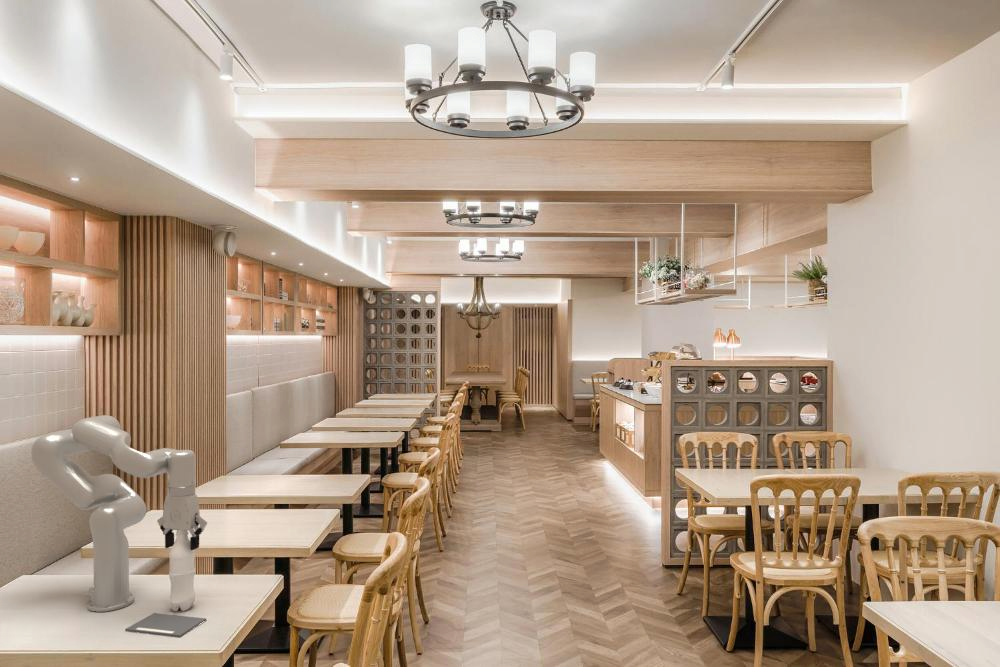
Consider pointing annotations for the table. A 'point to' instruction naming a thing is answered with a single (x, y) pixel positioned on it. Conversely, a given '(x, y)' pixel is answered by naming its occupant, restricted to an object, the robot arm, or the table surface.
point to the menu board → (165, 625)
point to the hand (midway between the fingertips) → (182, 547)
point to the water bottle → (182, 573)
